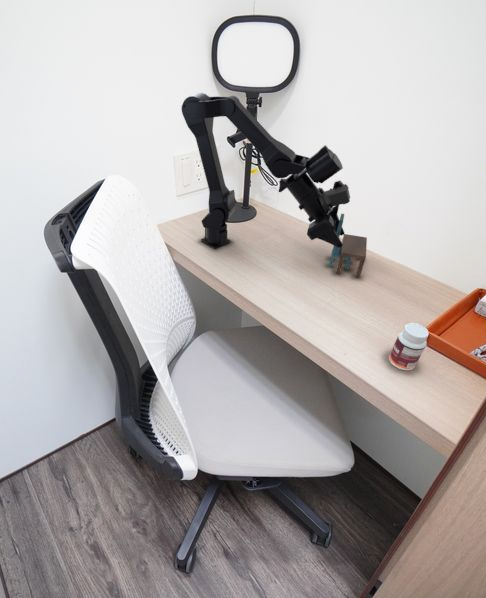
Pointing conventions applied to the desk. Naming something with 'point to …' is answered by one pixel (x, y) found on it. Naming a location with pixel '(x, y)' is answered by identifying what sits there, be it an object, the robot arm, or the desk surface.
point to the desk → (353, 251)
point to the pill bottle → (409, 346)
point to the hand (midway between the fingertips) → (342, 240)
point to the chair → (337, 251)
